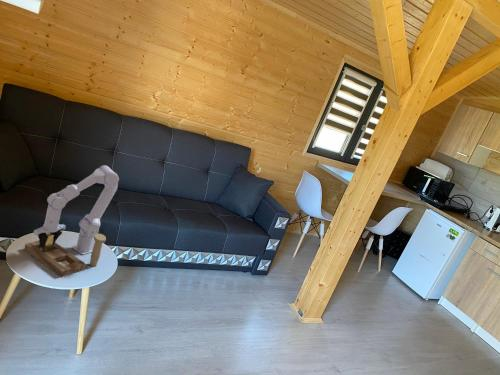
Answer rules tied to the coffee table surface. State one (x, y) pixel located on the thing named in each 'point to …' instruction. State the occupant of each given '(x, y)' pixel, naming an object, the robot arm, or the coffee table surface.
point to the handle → (97, 248)
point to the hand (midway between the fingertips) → (46, 245)
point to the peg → (48, 242)
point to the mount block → (56, 258)
